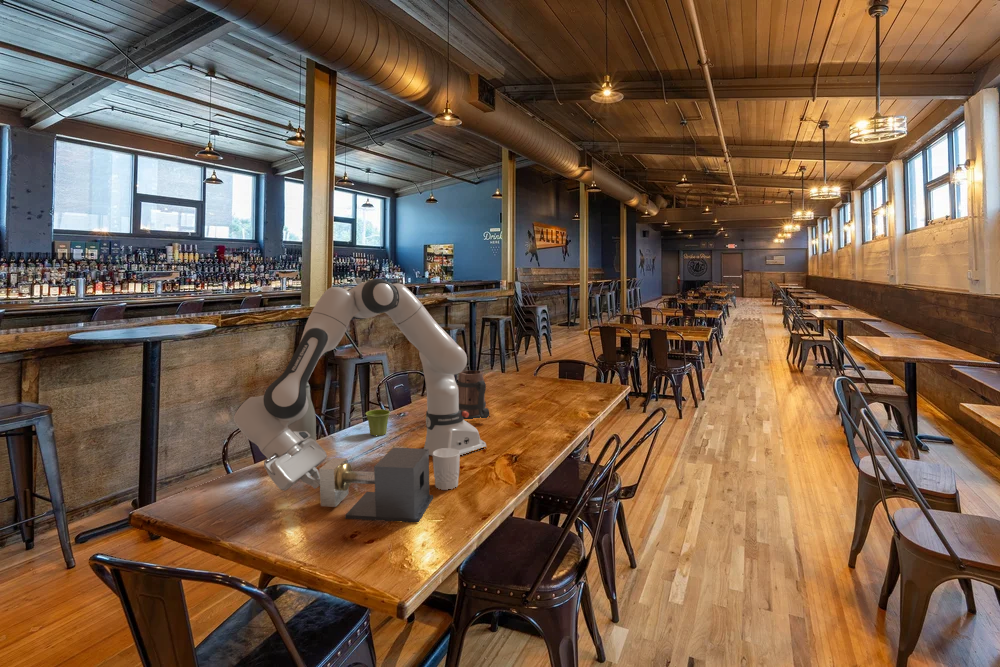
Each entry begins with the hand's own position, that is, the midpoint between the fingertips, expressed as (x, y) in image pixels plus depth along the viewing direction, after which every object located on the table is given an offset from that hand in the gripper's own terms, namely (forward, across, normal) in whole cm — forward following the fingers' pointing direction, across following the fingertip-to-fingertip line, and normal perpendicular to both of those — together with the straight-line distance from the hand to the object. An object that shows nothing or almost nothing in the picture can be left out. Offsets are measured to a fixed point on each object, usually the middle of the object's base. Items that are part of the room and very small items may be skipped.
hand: (319, 485), depth 132 cm
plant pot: (-1, +61, +9) cm, 62 cm away
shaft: (+12, 0, -7) cm, 14 cm away
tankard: (+23, +88, -15) cm, 92 cm away
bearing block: (+18, 0, -10) cm, 20 cm away
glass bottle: (-11, +28, +19) cm, 36 cm away
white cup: (+26, +16, -18) cm, 35 cm away
